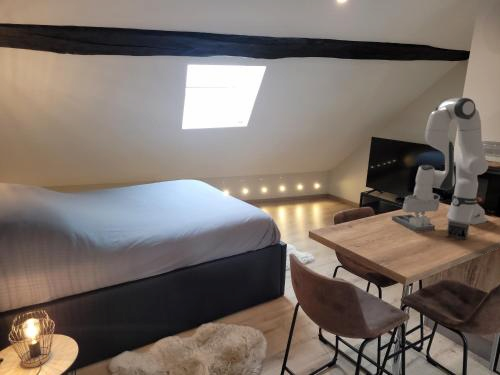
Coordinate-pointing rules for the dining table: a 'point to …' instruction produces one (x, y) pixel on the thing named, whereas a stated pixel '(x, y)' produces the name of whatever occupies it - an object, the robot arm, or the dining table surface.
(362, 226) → the dining table surface
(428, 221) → the white cube-shaped block
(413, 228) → the switch board
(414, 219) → the white sliding block
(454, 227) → the electrical switch
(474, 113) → the robot arm
